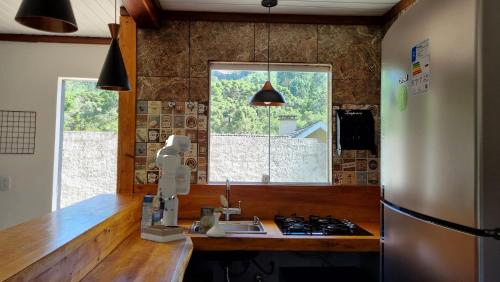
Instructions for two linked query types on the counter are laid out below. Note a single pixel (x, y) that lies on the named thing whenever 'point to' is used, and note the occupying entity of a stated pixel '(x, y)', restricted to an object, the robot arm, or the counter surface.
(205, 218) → the coffee box
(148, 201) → the beverage box
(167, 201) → the tall pale blue box
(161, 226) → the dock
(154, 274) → the counter surface
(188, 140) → the robot arm
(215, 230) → the flower in vase
